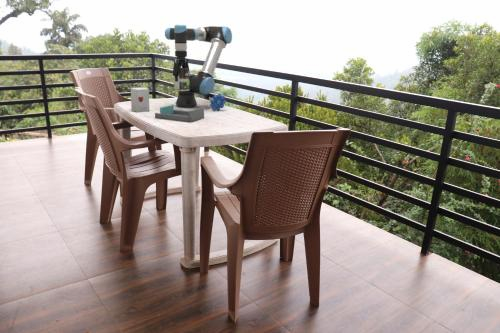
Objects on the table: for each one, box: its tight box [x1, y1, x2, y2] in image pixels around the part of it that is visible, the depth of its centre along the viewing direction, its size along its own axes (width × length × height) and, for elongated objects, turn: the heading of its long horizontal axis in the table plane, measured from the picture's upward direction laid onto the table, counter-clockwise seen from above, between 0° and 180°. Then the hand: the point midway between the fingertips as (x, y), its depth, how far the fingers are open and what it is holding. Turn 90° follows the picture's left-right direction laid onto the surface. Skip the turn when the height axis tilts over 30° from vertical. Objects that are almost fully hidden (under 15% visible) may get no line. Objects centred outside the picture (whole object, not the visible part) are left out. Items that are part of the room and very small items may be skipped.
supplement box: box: [130, 87, 150, 113], centre depth 273 cm, size 9×9×15 cm
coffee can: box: [173, 67, 190, 92], centre depth 267 cm, size 10×10×14 cm
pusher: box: [159, 104, 175, 115], centre depth 257 cm, size 2×13×6 cm, turn 158°
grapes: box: [209, 93, 227, 112], centre depth 284 cm, size 12×7×12 cm, turn 113°
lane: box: [154, 106, 205, 123], centre depth 254 cm, size 25×17×7 cm
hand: (181, 85), depth 268 cm, fingers closed on coffee can, 10 cm apart
